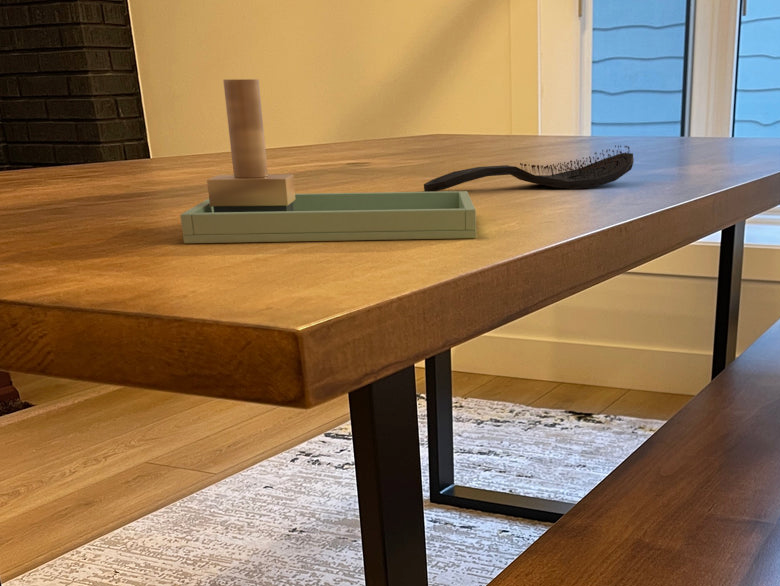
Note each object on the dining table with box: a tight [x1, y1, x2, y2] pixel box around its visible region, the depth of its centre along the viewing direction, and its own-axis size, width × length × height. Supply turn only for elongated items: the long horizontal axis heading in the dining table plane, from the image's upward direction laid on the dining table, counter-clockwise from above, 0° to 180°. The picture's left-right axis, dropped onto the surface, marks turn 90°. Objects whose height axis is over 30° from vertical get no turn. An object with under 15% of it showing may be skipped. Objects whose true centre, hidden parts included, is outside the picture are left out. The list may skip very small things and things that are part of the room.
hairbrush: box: [423, 144, 635, 192], centre depth 110 cm, size 8×4×25 cm
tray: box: [179, 190, 477, 245], centre depth 80 cm, size 22×14×2 cm, turn 95°
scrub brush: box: [206, 78, 296, 213], centre depth 77 cm, size 6×4×10 cm, turn 93°
